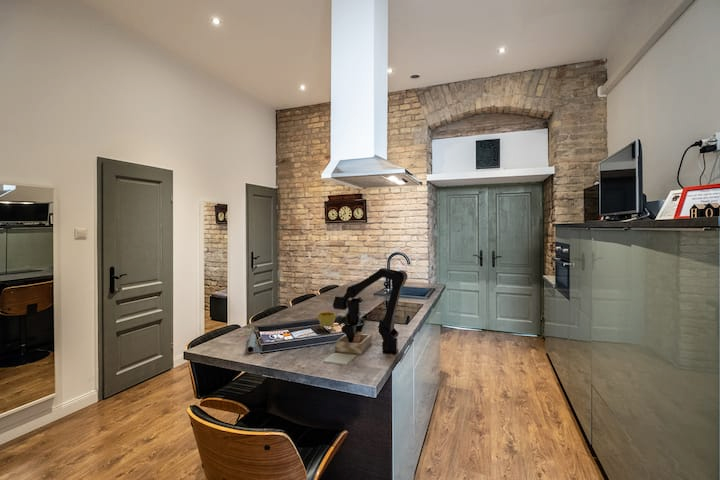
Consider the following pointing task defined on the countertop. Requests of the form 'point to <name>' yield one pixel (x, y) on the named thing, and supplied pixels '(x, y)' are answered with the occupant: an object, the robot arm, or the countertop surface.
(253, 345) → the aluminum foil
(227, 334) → the countertop surface
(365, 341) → the cold frame
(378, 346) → the countertop surface
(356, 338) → the terracotta pot
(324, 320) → the plant pot
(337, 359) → the sage tile
